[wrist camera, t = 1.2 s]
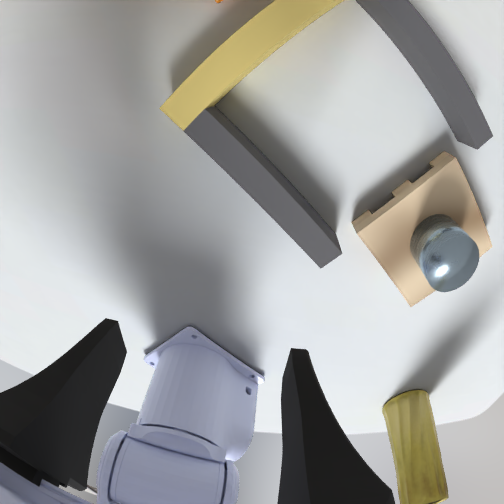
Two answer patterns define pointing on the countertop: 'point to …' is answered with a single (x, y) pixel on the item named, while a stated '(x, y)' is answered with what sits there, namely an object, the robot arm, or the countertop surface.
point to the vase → (415, 448)
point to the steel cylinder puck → (444, 252)
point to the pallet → (412, 214)
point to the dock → (262, 46)
